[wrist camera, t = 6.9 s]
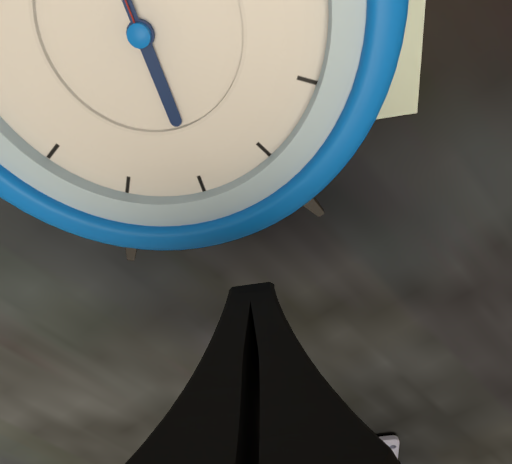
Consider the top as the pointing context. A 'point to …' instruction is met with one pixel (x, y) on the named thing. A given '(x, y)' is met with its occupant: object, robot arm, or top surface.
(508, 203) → the top surface
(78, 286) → the top surface
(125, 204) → the alarm clock
